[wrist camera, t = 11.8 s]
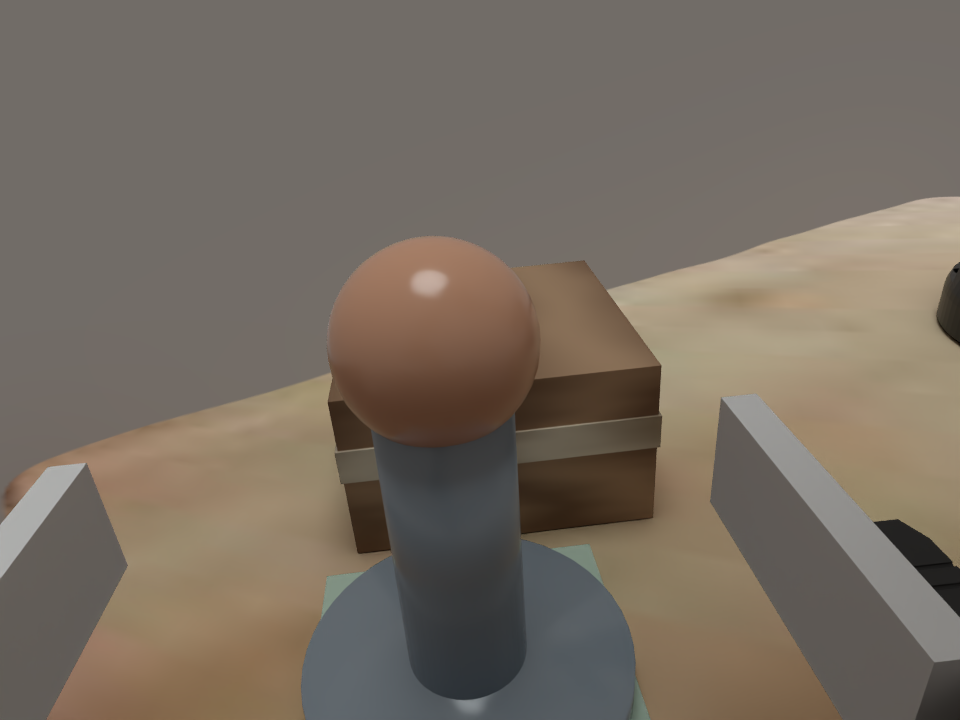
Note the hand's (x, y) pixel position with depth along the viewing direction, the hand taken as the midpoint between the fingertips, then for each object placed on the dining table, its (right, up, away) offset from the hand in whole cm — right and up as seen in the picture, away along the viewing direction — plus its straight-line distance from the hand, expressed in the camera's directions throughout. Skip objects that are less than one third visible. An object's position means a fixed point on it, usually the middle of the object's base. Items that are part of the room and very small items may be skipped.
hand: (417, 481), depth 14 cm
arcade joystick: (+1, -7, +7) cm, 10 cm away
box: (+2, -2, +18) cm, 19 cm away
